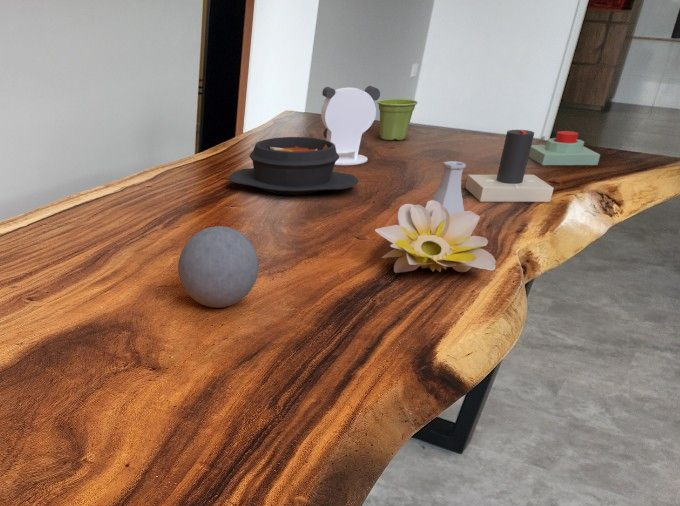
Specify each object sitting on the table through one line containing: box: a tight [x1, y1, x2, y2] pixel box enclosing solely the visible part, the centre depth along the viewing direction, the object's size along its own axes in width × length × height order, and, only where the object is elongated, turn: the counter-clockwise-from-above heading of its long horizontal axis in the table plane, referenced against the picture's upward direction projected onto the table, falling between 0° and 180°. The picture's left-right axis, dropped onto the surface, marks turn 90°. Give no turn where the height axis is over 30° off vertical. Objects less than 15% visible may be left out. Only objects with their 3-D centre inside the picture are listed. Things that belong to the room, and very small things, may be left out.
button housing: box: [528, 137, 601, 166], centre depth 154 cm, size 11×10×4 cm
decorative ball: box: [177, 225, 260, 309], centre depth 90 cm, size 10×10×10 cm
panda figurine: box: [320, 85, 381, 166], centre depth 158 cm, size 12×11×15 cm
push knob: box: [555, 130, 579, 143], centre depth 153 cm, size 4×4×2 cm
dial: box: [496, 129, 535, 184], centre depth 129 cm, size 4×4×9 cm
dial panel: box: [464, 174, 555, 203], centre depth 132 cm, size 12×10×3 cm
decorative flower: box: [374, 199, 497, 274], centre depth 97 cm, size 15×11×10 cm
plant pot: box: [377, 98, 419, 141], centre depth 178 cm, size 9×9×9 cm
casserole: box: [227, 136, 359, 196], centre depth 139 cm, size 25×19×8 cm
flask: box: [430, 160, 467, 216], centre depth 115 cm, size 7×7×10 cm
